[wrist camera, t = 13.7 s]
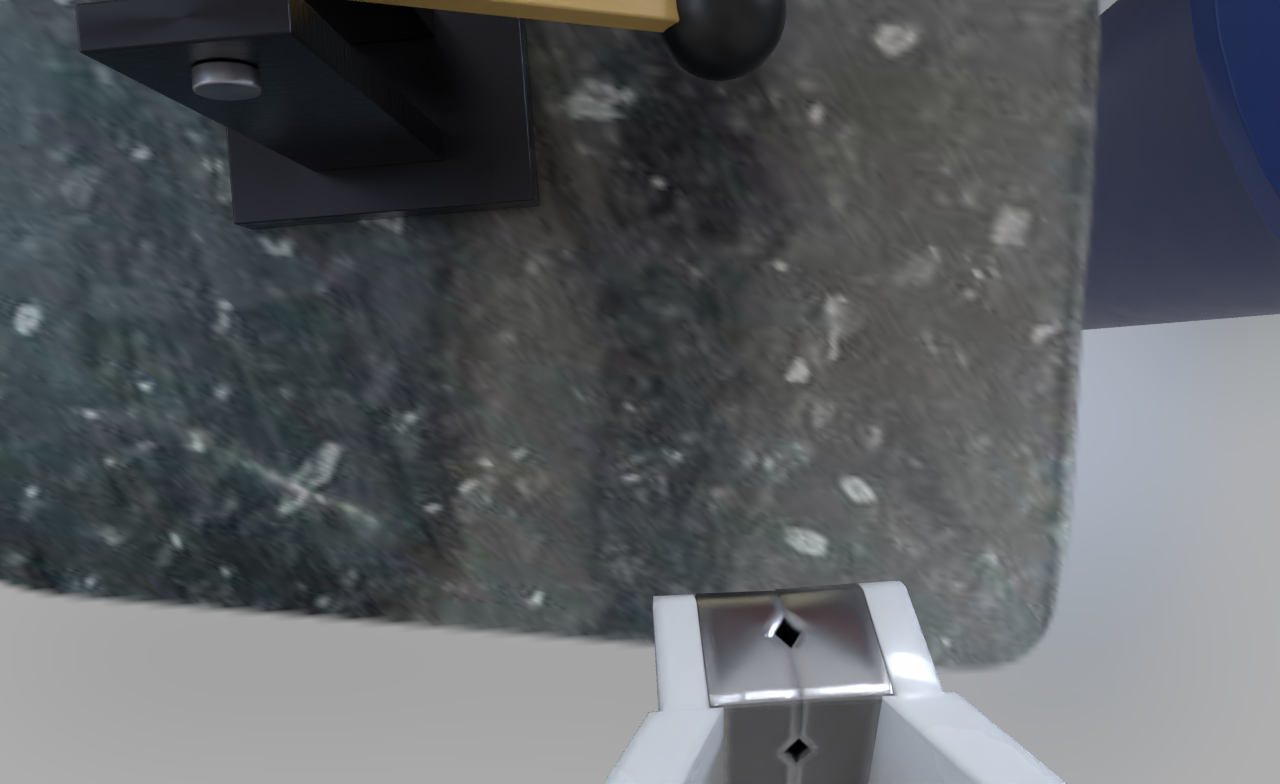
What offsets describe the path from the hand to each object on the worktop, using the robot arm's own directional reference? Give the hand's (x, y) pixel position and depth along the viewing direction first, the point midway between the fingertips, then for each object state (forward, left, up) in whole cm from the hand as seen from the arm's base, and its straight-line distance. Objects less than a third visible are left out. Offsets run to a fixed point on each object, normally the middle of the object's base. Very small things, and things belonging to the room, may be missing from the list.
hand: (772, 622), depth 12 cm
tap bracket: (+10, -13, -21) cm, 27 cm away
